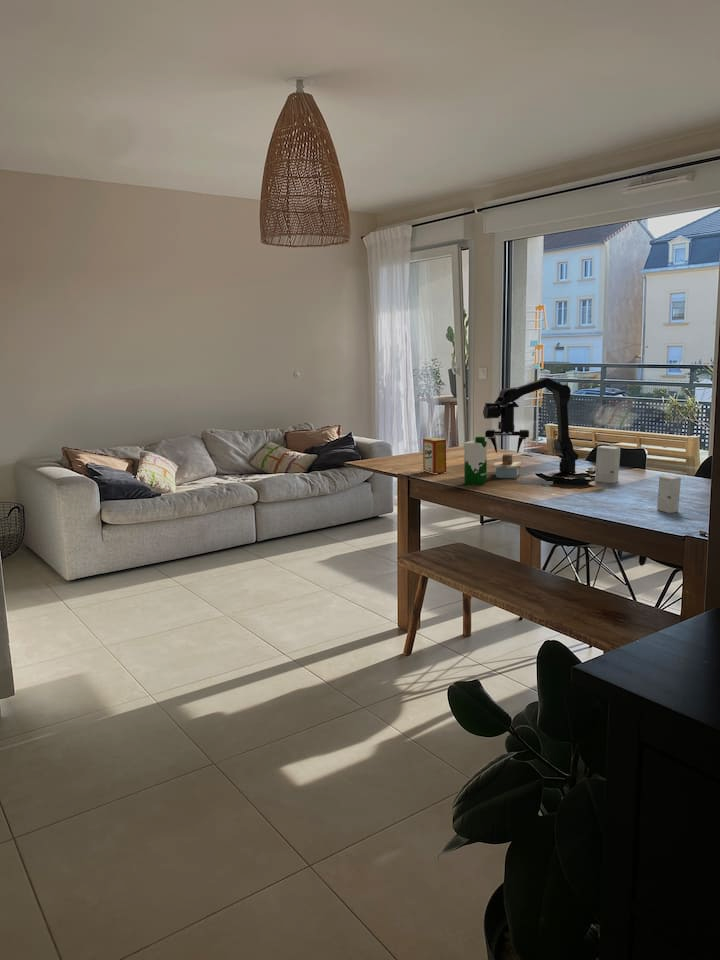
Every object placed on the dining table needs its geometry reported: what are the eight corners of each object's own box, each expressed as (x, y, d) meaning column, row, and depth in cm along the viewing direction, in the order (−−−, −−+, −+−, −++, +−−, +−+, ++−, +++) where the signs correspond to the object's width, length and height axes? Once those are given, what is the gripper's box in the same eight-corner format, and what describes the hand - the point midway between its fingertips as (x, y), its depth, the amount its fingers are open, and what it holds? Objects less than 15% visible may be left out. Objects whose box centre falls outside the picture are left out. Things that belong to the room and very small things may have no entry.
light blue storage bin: (518, 475, 338) (518, 464, 337) (516, 478, 329) (516, 467, 328) (497, 474, 340) (497, 463, 339) (496, 478, 332) (496, 467, 331)
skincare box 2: (656, 510, 264) (657, 476, 262) (665, 508, 266) (667, 474, 263) (670, 513, 258) (671, 478, 256) (679, 511, 260) (681, 477, 258)
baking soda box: (423, 471, 354) (422, 438, 351) (435, 470, 357) (434, 436, 354) (434, 474, 346) (433, 440, 343) (446, 473, 349) (445, 438, 346)
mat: (553, 479, 326) (553, 478, 326) (552, 485, 312) (552, 484, 312) (520, 478, 329) (520, 477, 329) (518, 484, 316) (518, 483, 316)
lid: (522, 463, 338) (522, 453, 337) (520, 468, 326) (520, 457, 326) (495, 463, 341) (495, 452, 340) (492, 467, 330) (492, 456, 329)
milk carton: (480, 486, 316) (480, 438, 312) (461, 484, 321) (460, 437, 317) (489, 482, 323) (489, 436, 319) (470, 480, 328) (470, 435, 324)
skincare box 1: (594, 481, 317) (595, 446, 315) (600, 479, 322) (601, 445, 319) (614, 483, 312) (615, 448, 309) (619, 481, 316) (620, 446, 314)
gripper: (530, 415, 335) (529, 450, 338) (487, 415, 340) (487, 450, 343) (528, 418, 324) (528, 454, 327) (485, 418, 329) (485, 453, 332)
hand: (507, 452), depth 333 cm, fingers open, 9 cm apart
